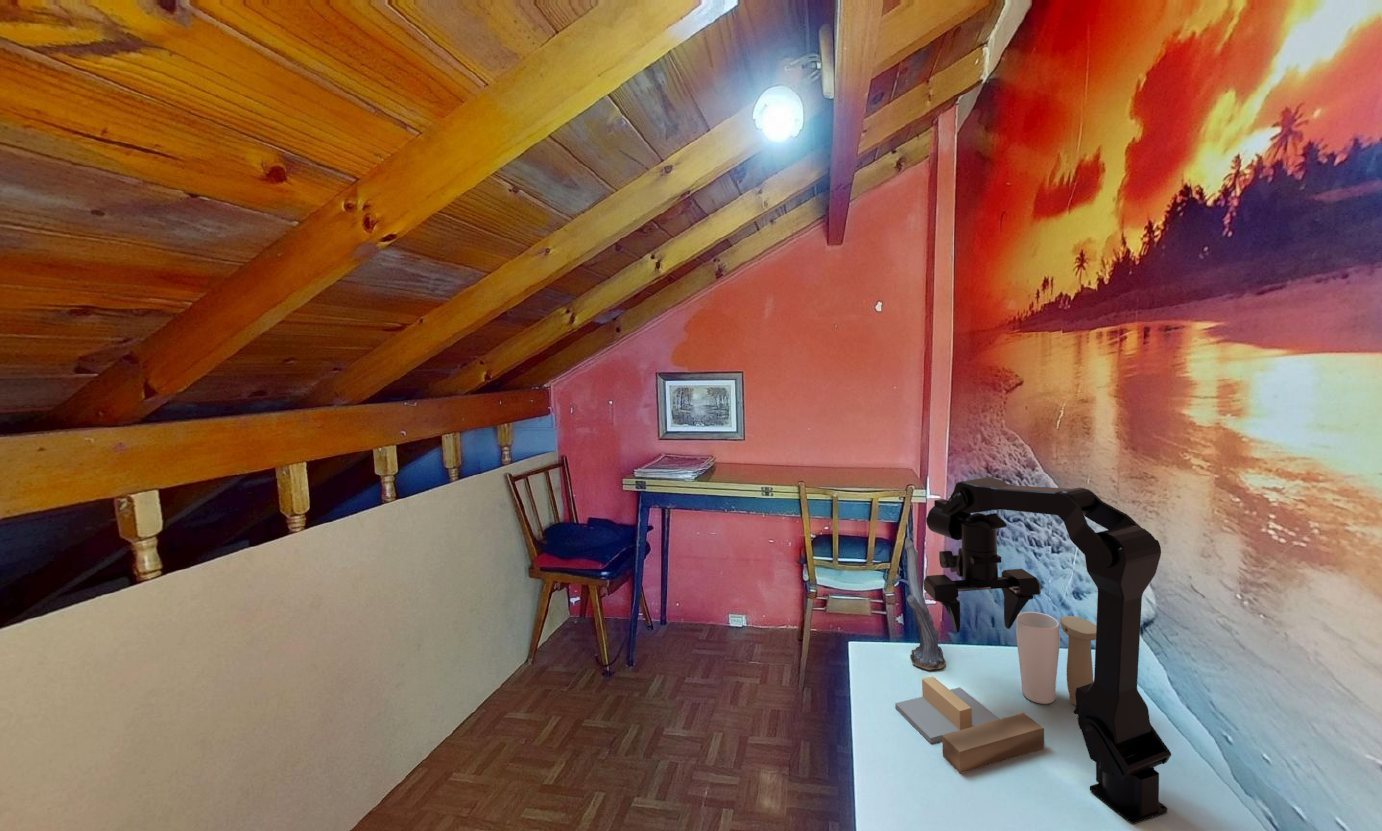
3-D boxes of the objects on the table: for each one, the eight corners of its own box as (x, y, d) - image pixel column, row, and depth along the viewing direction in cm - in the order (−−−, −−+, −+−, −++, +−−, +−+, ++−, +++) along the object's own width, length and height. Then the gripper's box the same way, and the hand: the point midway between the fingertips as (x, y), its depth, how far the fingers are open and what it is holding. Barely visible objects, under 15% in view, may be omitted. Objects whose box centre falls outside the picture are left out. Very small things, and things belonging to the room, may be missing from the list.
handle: (1079, 691, 104) (1079, 614, 103) (1106, 713, 98) (1106, 632, 96) (1054, 693, 104) (1054, 617, 102) (1079, 715, 98) (1079, 634, 96)
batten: (1044, 750, 91) (1043, 727, 90) (960, 775, 87) (959, 751, 87) (1023, 734, 95) (1023, 712, 94) (942, 757, 91) (942, 735, 90)
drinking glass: (1058, 712, 99) (1058, 632, 97) (1014, 700, 103) (1013, 623, 101) (1061, 692, 104) (1061, 616, 103) (1019, 681, 108) (1018, 608, 107)
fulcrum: (1000, 724, 97) (1000, 700, 97) (930, 743, 94) (929, 718, 93) (960, 692, 107) (959, 669, 106) (895, 708, 104) (894, 685, 103)
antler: (951, 671, 114) (948, 552, 111) (912, 673, 114) (908, 555, 111) (929, 641, 125) (925, 534, 122) (894, 643, 125) (889, 536, 123)
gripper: (1006, 529, 109) (1009, 606, 110) (910, 537, 109) (914, 613, 111) (1041, 548, 98) (1043, 634, 99) (934, 557, 98) (938, 641, 100)
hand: (982, 629), depth 102 cm, fingers open, 9 cm apart
